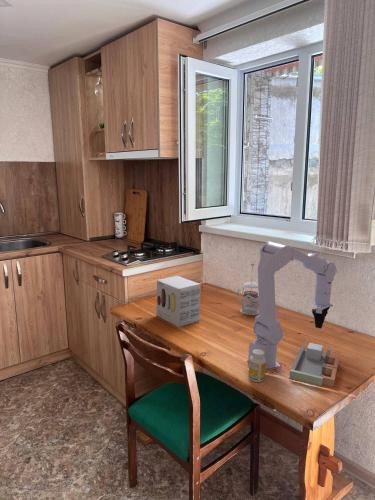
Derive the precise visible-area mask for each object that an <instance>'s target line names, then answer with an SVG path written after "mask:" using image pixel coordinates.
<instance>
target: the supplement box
mask: <svg viewBox="0 0 375 500" xmlns="http://www.w3.org/2000/svg"><path fill="white" fill-rule="evenodd" d="M201 285H202V284H201V283H199V282H196V281H194V280H191V279H189V278H188V279H187V278H184V277H183V276H179V275H176V276H175V275H174V276H170V277H166V278H161V279H157V280H156V315H155V316H157V317H159V318H160V319H162V320H164V321H166V322H167V323H170V324H172V325H173V326H175V327H178V328H180V327H183V326H184V327H185V326H187V325H191V324H194V323H196V322H200V321H201V320H200V317H201V316H200V315H201V292H202V291H201V288H202V286H201Z"/></svg>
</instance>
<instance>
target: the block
mask: <svg viewBox="0 0 375 500" xmlns="http://www.w3.org/2000/svg"><path fill="white" fill-rule="evenodd" d="M323 350H324V345H321V344H318V343H313V342H309V343H308V346H307V349H306V351H307V356H306V358H309V359H314V360H318V361H321V358H322V354H323V352H324V351H323Z"/></svg>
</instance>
